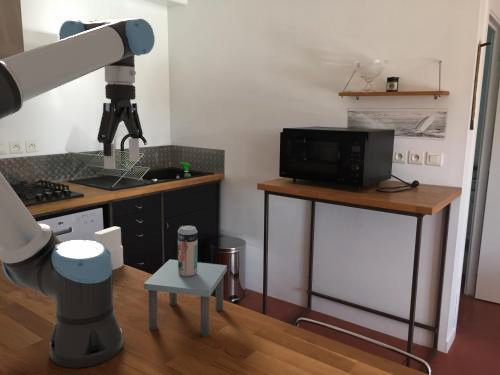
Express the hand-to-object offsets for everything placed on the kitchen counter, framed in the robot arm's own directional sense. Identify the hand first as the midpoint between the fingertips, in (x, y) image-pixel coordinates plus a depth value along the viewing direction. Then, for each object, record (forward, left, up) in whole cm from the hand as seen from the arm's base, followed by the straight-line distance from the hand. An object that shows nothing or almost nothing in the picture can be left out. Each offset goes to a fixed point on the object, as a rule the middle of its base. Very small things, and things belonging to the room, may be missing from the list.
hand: (122, 165), depth 116 cm
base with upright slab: (+17, +15, -37) cm, 43 cm away
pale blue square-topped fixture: (-10, -22, -37) cm, 44 cm away
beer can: (-10, -22, -25) cm, 35 cm away
